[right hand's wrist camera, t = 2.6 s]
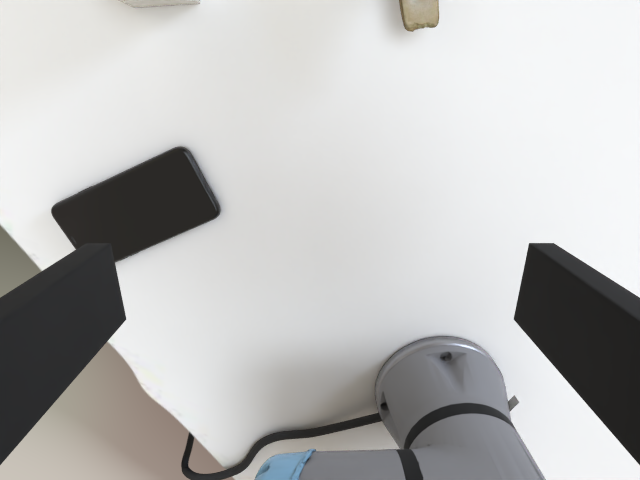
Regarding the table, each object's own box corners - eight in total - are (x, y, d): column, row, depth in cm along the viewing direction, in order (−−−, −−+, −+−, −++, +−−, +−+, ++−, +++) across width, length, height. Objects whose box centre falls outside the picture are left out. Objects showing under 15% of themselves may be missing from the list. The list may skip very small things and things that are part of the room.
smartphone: (186, 141, 38) (50, 205, 40) (183, 142, 37) (44, 208, 39) (225, 213, 40) (95, 270, 42) (223, 216, 39) (91, 273, 41)
